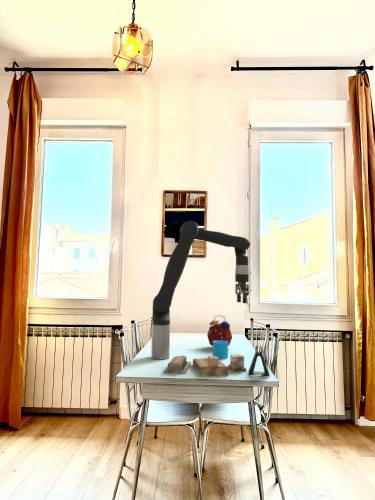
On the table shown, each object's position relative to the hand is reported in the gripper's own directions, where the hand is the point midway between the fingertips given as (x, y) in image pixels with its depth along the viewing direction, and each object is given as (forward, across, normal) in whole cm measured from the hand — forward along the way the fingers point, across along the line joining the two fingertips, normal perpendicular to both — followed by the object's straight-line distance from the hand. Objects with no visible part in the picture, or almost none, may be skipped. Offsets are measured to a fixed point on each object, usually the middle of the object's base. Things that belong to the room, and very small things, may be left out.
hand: (241, 302), depth 187 cm
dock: (+29, +25, -26) cm, 46 cm away
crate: (+26, +31, -26) cm, 48 cm away
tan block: (+29, +26, -12) cm, 41 cm away
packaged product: (+30, +20, -39) cm, 53 cm away
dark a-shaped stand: (+29, +36, -6) cm, 46 cm away
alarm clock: (+29, -21, -7) cm, 36 cm away
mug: (+29, -1, -12) cm, 31 cm away
